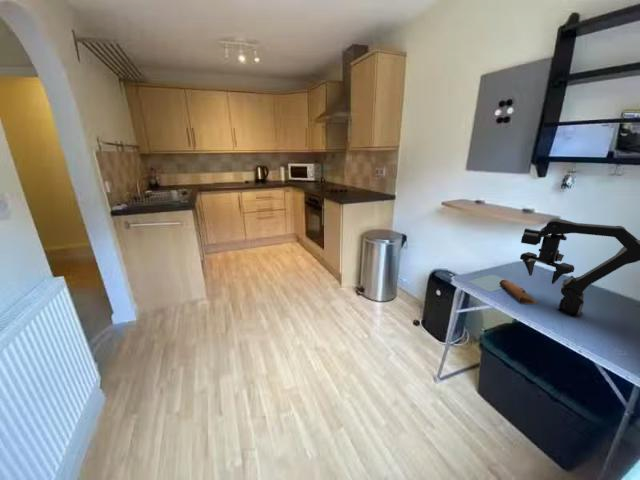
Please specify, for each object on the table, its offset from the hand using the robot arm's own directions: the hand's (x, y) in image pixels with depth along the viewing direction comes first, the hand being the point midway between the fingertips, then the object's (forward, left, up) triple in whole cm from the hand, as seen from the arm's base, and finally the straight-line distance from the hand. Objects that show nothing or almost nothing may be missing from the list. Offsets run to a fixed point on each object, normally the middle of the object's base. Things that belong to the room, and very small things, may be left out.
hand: (541, 279), depth 123 cm
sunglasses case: (+8, 0, -12) cm, 15 cm away
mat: (+22, 0, -12) cm, 25 cm away
